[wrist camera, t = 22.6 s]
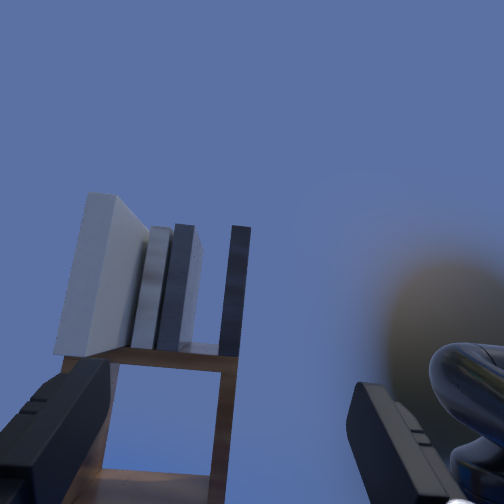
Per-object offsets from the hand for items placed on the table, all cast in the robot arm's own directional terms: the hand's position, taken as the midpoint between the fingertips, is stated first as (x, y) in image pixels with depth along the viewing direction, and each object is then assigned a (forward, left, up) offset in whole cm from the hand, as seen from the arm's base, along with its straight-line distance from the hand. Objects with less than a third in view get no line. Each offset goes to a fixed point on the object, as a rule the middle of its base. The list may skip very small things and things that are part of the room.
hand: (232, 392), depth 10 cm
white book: (+3, -25, -1) cm, 25 cm away
